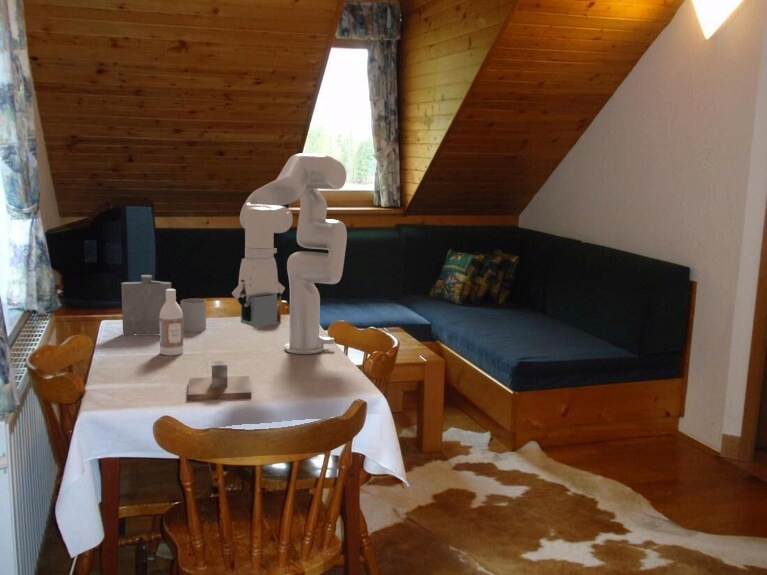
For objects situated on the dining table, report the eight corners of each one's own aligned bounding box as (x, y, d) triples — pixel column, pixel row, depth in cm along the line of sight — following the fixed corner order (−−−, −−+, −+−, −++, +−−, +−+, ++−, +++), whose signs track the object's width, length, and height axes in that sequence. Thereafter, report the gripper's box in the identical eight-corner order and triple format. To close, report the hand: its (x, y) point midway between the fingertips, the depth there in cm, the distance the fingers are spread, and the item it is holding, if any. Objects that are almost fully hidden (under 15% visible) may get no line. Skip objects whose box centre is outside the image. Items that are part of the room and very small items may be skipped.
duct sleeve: (262, 319, 212) (262, 291, 211) (276, 324, 207) (277, 295, 206) (240, 322, 208) (241, 293, 206) (254, 327, 203) (255, 297, 201)
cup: (211, 328, 267) (210, 301, 266) (193, 333, 261) (193, 304, 259) (193, 325, 272) (193, 297, 270) (176, 329, 265) (175, 301, 263)
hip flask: (122, 335, 255) (120, 276, 251) (123, 332, 258) (122, 274, 255) (171, 334, 258) (170, 276, 254) (172, 331, 262) (171, 274, 258)
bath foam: (164, 357, 231) (162, 292, 228) (157, 351, 237) (155, 288, 233) (186, 354, 235) (185, 290, 231) (179, 349, 241) (178, 286, 237)
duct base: (248, 381, 211) (248, 355, 210) (251, 397, 198) (251, 370, 196) (189, 383, 208) (188, 356, 206) (187, 400, 194) (187, 372, 193)
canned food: (279, 324, 277) (279, 292, 275) (257, 323, 277) (257, 291, 275) (282, 319, 285) (282, 288, 282) (261, 318, 285) (261, 287, 282)
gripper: (278, 250, 213) (277, 312, 216) (223, 254, 201) (223, 319, 204) (294, 253, 207) (293, 317, 210) (238, 257, 196) (238, 325, 199)
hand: (258, 318), depth 207 cm, fingers closed on duct sleeve, 7 cm apart
